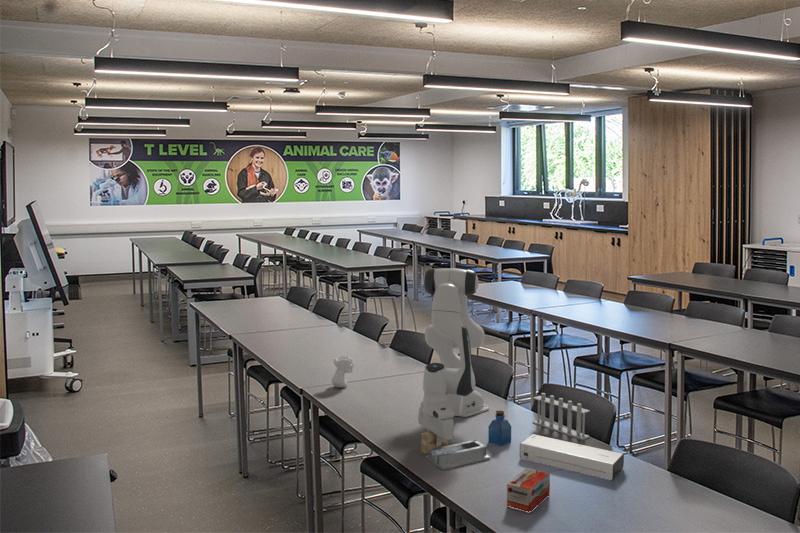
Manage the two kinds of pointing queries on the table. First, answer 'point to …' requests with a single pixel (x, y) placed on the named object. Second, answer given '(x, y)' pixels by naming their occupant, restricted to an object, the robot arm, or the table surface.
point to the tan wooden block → (430, 442)
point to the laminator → (572, 456)
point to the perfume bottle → (499, 430)
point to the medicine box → (528, 489)
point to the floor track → (457, 454)
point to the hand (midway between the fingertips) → (435, 443)
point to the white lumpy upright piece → (342, 370)
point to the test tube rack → (561, 416)
